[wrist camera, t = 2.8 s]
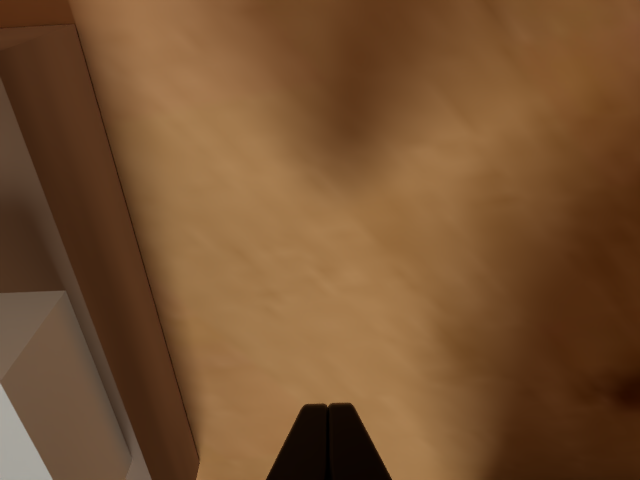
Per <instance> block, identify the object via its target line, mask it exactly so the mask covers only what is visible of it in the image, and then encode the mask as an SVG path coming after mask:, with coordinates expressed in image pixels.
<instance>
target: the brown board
mask: <svg viewBox="0 0 640 480" xmlns="http://www.w3.org/2000/svg"><path fill="white" fill-rule="evenodd" d="M65 290H66V293H67V295H68V298H69V300H70V303H71V305H72V308H73V310H74V313H75V315H76V318H77V321H78V323H79V326H80V328H81V331H82V333H83V336H84V338H85V341H86V343H87V346H88V348H89V351H90V353H91V356H92V358H93V361H94V364H95V366H96V369H97V371H98V374H99V376H100V379H101V381H102V384H103V386H104V389H105V391H106V394H107V396H108V399H109V402H110V404H111V407H112V409H113V412H114V414H115V417H116V419H117V422H118V424H119V427H120V429H121V432H122V434H123V437H124V439H125V442H126V445H127V447H128V450H129V452H130V455H131V457H132V462H131V465H130V468H129V470H128V473H127V476H126V479H125V480H196V477H197V472H198V468H199V464H200V462H199V459H198V455H197V452H196V448H195V445H194V441H193V438H192V434H191V431H190V427H189V424H188V420H187V417H186V413H185V410H184V406H183V403H182V399H181V396H180V392H179V389H178V385H177V382H176V378H175V375H174V371H173V368H172V364H171V361H170V357H169V354H168V350H167V347H166V343H165V340H164V336H163V333H162V329H161V326H160V322H159V319H158V315H157V312H156V308H155V304H154V301H153V297H152V294H151V290H150V287H149V283H148V280H147V276H146V273H145V269H144V266H143V262H142V259H141V255H140V252H139V248H138V245H137V241H136V238H135V234H134V231H133V227H132V224H131V220H130V217H129V213H128V210H127V206H126V203H125V199H124V196H123V192H122V189H121V185H120V182H119V178H118V175H117V171H116V168H115V164H114V161H113V157H112V154H111V150H110V147H109V143H108V140H107V136H106V133H105V129H104V126H103V122H102V119H101V115H100V112H99V108H98V105H97V101H96V98H95V94H94V91H93V87H92V84H91V80H90V77H89V73H88V70H87V66H86V63H85V59H84V56H83V52H82V49H81V45H80V42H79V38H78V35H77V31H76V28H75V24H67V25H49V26H31V27H14V28H0V293H16V292H41V291H65Z"/></svg>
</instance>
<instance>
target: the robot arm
mask: <svg viewBox="0 0 640 480" xmlns="http://www.w3.org/2000/svg"><path fill="white" fill-rule="evenodd" d="M266 480H392V479H391V477H390V475H389V473H388V471H387V469H386V467H385V465H384V463H383V461H382V459H381V457H380V456H379V454H378V452H377V450H376V448H375V446H374V444H373V442H372V440H371V438H370V436H369V434H368V432H367V431H366V429H365V427H364V425H363V423H362V421H361V419H360V417H359V415H358V413H357V411H356V409H355V408H354V406H353V405H352V404H351V403H332V404H330V405H329V406H328V407H327V405H326V404H306V405H304V406H303V407H302V408H301V410H300V412H299V414H298V416H297V418H296V420H295V422H294V424H293V426H292V428H291V430H290V432H289V434H288V436H287V438H286V440H285V442H284V444H283V446H282V448H281V450H280V452H279V454H278V456H277V458H276V460H275V462H274V464H273V466H272V468H271V470H270V472H269V474H268V476H267V478H266Z"/></svg>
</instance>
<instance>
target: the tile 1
mask: <svg viewBox="0 0 640 480" xmlns="http://www.w3.org/2000/svg"><path fill="white" fill-rule="evenodd" d="M131 462H132V457H131V455H130V452H129V450H128V447H127V445H126V442H125V439H124V437H123V434H122V432H121V429H120V427H119V424H118V422H117V419H116V417H115V414H114V412H113V409H112V407H111V404H110V402H109V399H108V396H107V394H106V391H105V389H104V386H103V384H102V381H101V379H100V376H99V374H98V371H97V369H96V366H95V364H94V361H93V358H92V356H91V353H90V351H89V348H88V346H87V343H86V341H85V338H84V336H83V333H82V331H81V328H80V326H79V323H78V321H77V318H76V315H75V313H74V310H73V308H72V305H71V303H70V300H69V298H68V295H67V293H66V290H65V291H41V292H16V293H0V480H125V479H126V476H127V473H128V470H129V468H130V465H131Z"/></svg>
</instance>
